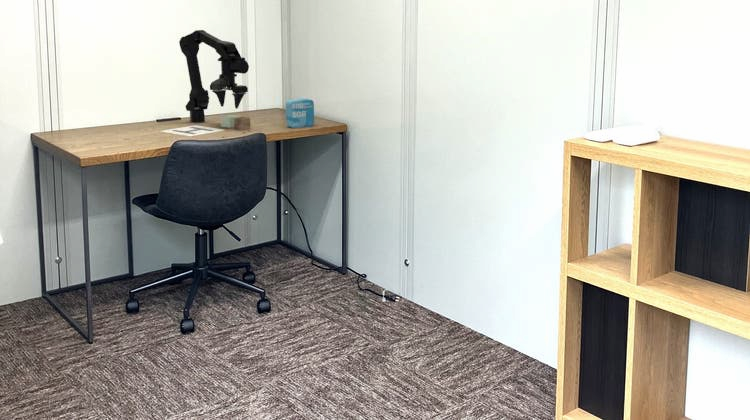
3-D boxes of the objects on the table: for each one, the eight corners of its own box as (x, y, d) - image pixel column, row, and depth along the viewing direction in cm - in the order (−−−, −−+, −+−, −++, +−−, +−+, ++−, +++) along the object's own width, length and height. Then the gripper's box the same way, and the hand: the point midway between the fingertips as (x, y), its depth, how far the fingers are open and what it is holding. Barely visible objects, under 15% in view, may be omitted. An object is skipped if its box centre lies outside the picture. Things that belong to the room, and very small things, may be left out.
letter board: (159, 133, 395) (159, 131, 394) (195, 127, 410) (195, 125, 410) (190, 138, 383) (190, 136, 382) (226, 132, 398) (226, 129, 398)
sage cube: (221, 128, 407) (220, 116, 406) (230, 127, 411) (230, 115, 410) (230, 130, 404) (229, 117, 402) (239, 128, 408) (238, 116, 407)
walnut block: (234, 131, 399) (233, 118, 398) (242, 130, 403) (242, 116, 402) (242, 133, 397) (241, 119, 395) (250, 131, 400) (250, 117, 399)
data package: (290, 128, 409) (290, 101, 406) (286, 127, 412) (285, 100, 409) (314, 126, 415) (313, 99, 412) (309, 124, 419) (309, 98, 416)
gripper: (199, 71, 401) (201, 107, 405) (229, 75, 389) (230, 111, 393) (218, 69, 409) (220, 104, 413) (248, 72, 398) (249, 108, 402)
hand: (229, 107), depth 405 cm, fingers open, 9 cm apart
